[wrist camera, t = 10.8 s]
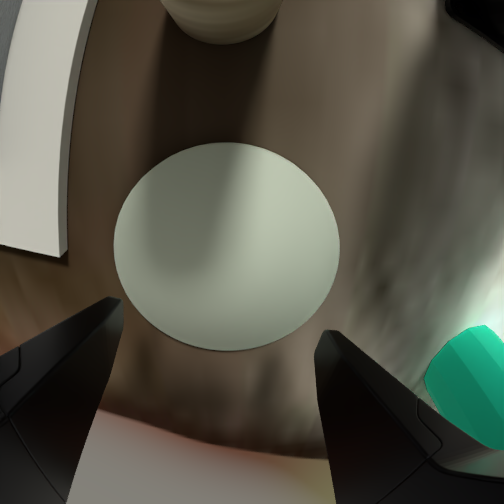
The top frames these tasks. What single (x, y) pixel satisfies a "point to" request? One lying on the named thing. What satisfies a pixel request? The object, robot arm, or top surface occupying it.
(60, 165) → the white flat square slab
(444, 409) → the candle
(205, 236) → the mat
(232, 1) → the tan cylinder
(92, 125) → the top surface
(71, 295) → the top surface
